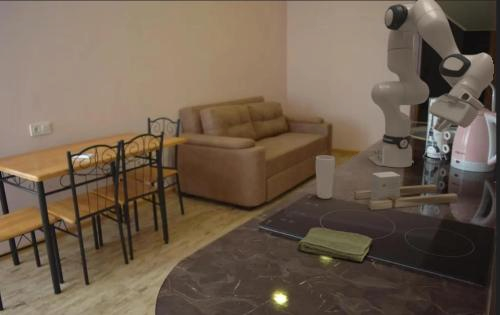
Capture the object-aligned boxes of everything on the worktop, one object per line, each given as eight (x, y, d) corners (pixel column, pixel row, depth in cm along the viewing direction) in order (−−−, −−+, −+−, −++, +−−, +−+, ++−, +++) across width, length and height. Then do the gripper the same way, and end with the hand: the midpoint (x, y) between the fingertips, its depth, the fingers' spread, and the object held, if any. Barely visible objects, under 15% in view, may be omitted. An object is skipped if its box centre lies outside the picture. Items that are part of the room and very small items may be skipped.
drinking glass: (333, 200, 142) (335, 159, 139) (314, 199, 144) (315, 159, 140) (333, 194, 149) (334, 155, 145) (315, 193, 150) (316, 155, 146)
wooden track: (354, 197, 145) (354, 189, 144) (432, 190, 150) (433, 182, 150) (371, 210, 132) (371, 201, 131) (456, 201, 138) (457, 192, 137)
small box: (390, 199, 142) (392, 171, 139) (399, 204, 137) (401, 175, 134) (370, 201, 140) (371, 172, 138) (378, 206, 135) (379, 177, 133)
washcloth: (364, 266, 97) (364, 254, 96) (295, 252, 105) (295, 241, 104) (373, 244, 109) (373, 233, 108) (311, 233, 116) (311, 223, 115)
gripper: (438, 88, 148) (415, 119, 151) (474, 98, 129) (447, 133, 132) (450, 96, 150) (427, 127, 153) (487, 108, 131) (460, 142, 134)
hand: (436, 130), depth 142 cm, fingers closed
